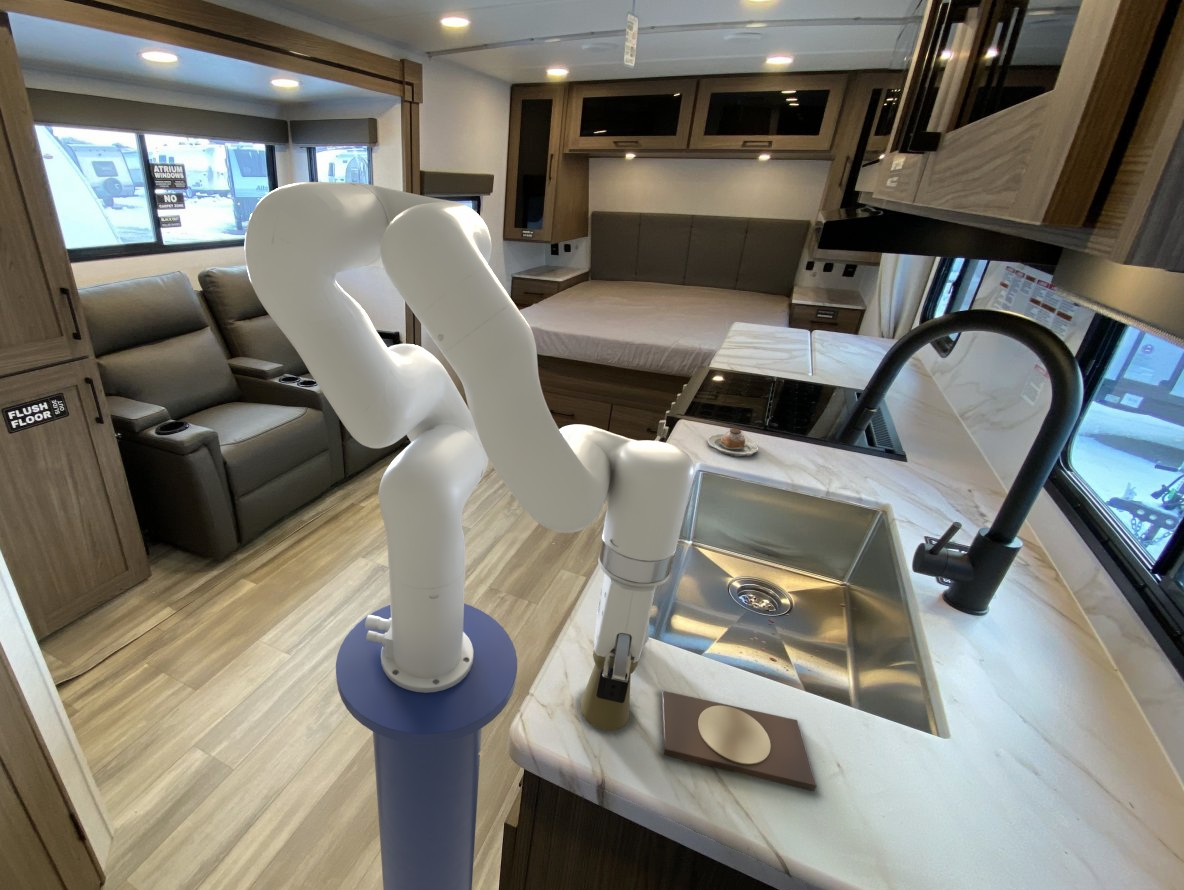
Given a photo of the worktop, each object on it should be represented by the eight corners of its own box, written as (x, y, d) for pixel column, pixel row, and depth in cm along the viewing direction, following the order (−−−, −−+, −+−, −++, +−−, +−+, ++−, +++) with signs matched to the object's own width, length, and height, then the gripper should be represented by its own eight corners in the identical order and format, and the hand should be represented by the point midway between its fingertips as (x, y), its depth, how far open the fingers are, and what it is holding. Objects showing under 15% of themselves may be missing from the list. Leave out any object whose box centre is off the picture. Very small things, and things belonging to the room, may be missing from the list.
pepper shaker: (589, 733, 69) (602, 666, 64) (573, 693, 74) (584, 629, 69) (636, 727, 70) (653, 661, 65) (617, 688, 75) (631, 624, 70)
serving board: (663, 754, 67) (665, 748, 66) (660, 695, 74) (662, 688, 74) (814, 791, 63) (817, 784, 63) (795, 725, 71) (798, 718, 70)
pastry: (749, 440, 150) (753, 423, 148) (763, 459, 140) (769, 442, 137) (702, 436, 151) (706, 420, 149) (713, 455, 141) (717, 438, 139)
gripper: (604, 509, 69) (585, 623, 78) (594, 598, 54) (573, 727, 63) (669, 519, 68) (642, 634, 76) (677, 614, 53) (643, 744, 61)
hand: (611, 675), depth 69 cm, fingers open, 6 cm apart
